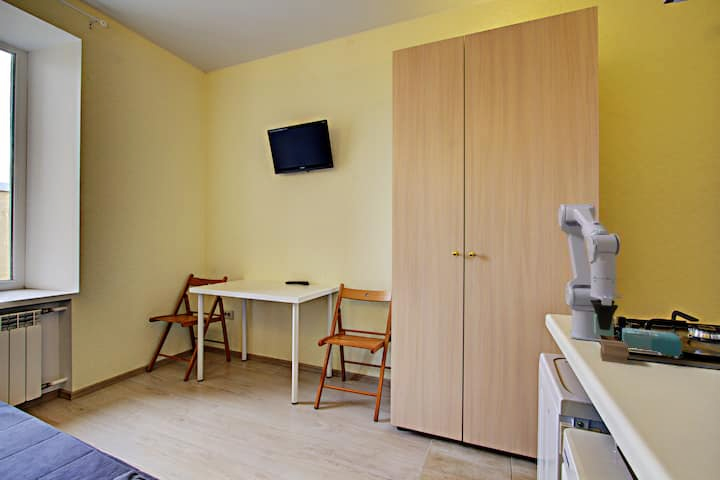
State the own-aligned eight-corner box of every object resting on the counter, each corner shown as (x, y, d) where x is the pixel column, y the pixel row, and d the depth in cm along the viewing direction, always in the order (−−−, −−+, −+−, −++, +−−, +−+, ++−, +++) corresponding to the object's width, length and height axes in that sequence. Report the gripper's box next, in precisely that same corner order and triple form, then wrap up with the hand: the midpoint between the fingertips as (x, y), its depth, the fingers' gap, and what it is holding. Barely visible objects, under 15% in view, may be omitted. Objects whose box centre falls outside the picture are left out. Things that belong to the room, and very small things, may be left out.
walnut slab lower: (600, 356, 92) (600, 348, 92) (624, 359, 90) (623, 350, 90) (602, 362, 88) (601, 353, 88) (626, 365, 86) (626, 356, 86)
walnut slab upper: (600, 348, 92) (600, 339, 92) (624, 350, 90) (624, 341, 90) (603, 353, 88) (603, 344, 88) (628, 356, 86) (628, 346, 86)
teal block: (594, 331, 99) (594, 313, 99) (611, 333, 97) (611, 315, 97) (595, 334, 96) (595, 316, 96) (613, 336, 94) (613, 317, 94)
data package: (623, 335, 95) (621, 327, 105) (623, 352, 95) (622, 342, 105) (683, 342, 88) (675, 332, 98) (683, 360, 88) (675, 349, 98)
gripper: (626, 281, 88) (626, 335, 88) (616, 276, 101) (617, 323, 101) (592, 280, 92) (592, 332, 91) (587, 275, 104) (588, 321, 104)
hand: (603, 327), depth 96 cm, fingers closed on teal block, 4 cm apart
